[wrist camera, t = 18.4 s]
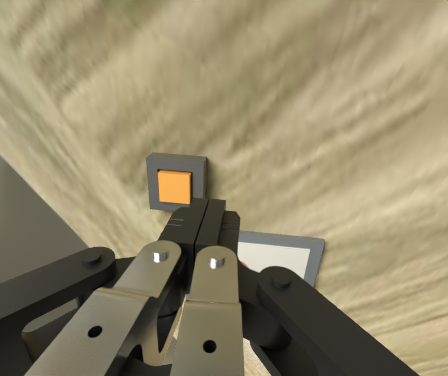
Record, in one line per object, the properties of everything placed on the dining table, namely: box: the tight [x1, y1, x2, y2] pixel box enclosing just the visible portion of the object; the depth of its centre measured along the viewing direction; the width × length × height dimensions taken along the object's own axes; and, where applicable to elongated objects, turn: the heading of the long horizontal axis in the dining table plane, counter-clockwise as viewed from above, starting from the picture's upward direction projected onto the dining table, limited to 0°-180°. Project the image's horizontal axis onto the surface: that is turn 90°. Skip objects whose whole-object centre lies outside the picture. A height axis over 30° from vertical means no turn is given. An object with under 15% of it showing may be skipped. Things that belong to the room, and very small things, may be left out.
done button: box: [158, 169, 193, 204], centre depth 37 cm, size 4×4×2 cm
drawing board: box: [186, 231, 325, 300], centre depth 44 cm, size 22×16×1 cm
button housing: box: [146, 153, 207, 211], centre depth 38 cm, size 8×8×3 cm
